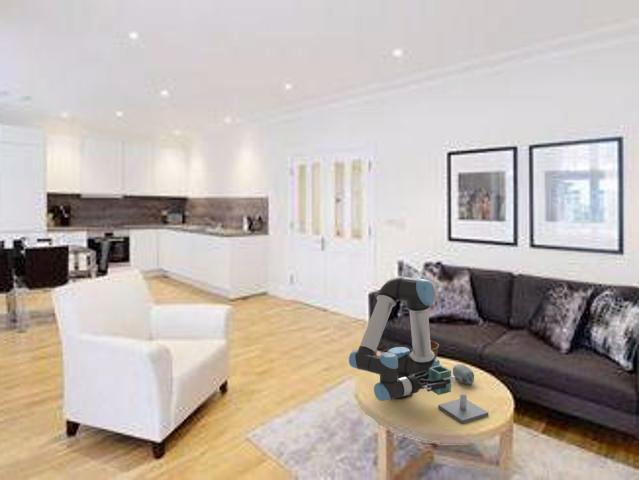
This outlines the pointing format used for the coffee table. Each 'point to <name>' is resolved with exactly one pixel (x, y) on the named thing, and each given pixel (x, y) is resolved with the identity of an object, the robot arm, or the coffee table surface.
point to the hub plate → (462, 413)
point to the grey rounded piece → (463, 374)
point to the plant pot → (433, 347)
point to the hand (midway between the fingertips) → (448, 375)
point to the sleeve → (440, 377)
